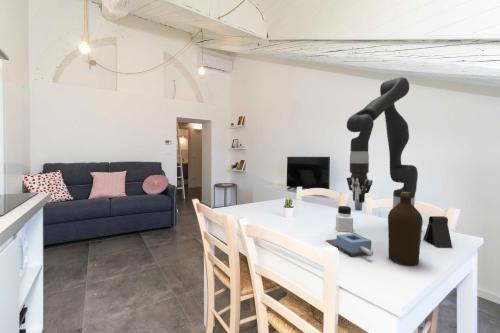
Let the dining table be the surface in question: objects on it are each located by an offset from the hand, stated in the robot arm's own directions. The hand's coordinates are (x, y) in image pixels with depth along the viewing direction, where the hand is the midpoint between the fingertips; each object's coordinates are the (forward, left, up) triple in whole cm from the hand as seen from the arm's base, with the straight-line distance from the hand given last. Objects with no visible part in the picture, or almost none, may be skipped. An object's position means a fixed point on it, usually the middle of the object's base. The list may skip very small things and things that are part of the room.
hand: (358, 201), depth 107 cm
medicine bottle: (-6, -17, -18) cm, 26 cm away
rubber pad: (+9, -1, -18) cm, 20 cm away
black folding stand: (-32, +11, -18) cm, 38 cm away
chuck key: (0, 0, -4) cm, 4 cm away
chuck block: (+9, +11, -18) cm, 23 cm away
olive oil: (-4, +20, -18) cm, 27 cm away
